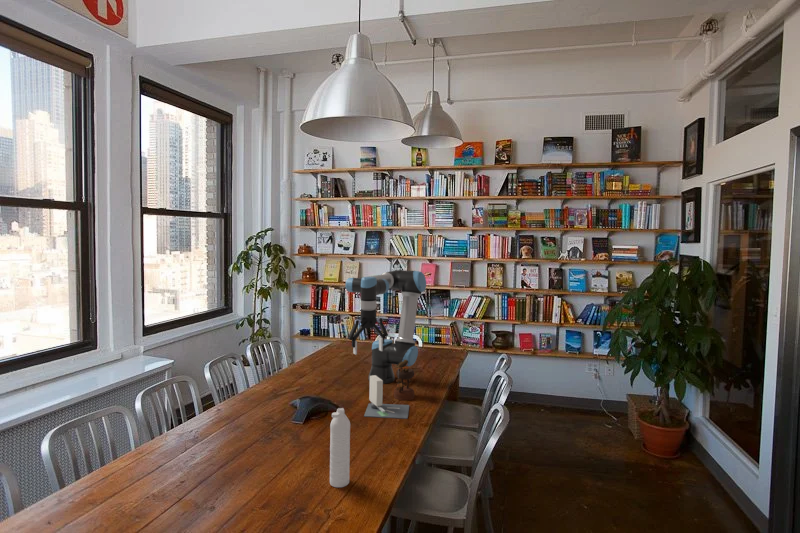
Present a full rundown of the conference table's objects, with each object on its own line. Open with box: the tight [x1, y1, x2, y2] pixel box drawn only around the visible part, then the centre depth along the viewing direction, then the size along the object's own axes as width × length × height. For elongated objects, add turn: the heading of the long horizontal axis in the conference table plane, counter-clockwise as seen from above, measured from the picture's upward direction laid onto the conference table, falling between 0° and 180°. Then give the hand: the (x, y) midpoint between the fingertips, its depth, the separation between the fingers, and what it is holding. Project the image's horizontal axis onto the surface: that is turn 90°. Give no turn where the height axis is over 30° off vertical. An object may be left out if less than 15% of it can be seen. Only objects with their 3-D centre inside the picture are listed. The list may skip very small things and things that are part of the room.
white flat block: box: [368, 375, 385, 413], centre depth 211 cm, size 4×14×14 cm, turn 26°
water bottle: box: [329, 407, 351, 488], centre depth 146 cm, size 9×6×25 cm
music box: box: [393, 360, 415, 401], centre depth 231 cm, size 15×11×20 cm
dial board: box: [363, 402, 410, 420], centre depth 211 cm, size 16×20×1 cm
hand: (368, 352), depth 216 cm, fingers open, 13 cm apart
